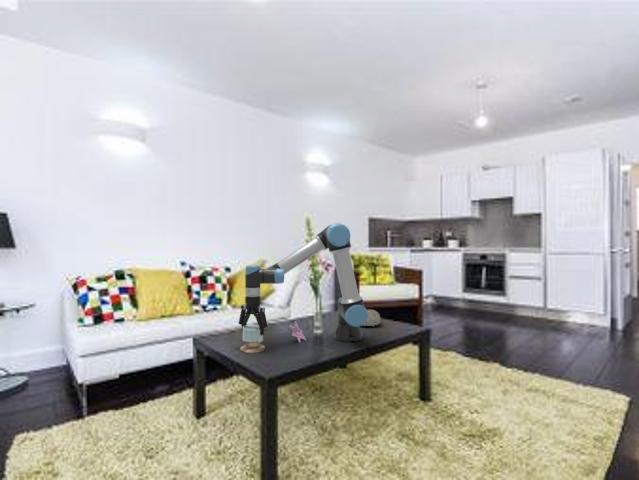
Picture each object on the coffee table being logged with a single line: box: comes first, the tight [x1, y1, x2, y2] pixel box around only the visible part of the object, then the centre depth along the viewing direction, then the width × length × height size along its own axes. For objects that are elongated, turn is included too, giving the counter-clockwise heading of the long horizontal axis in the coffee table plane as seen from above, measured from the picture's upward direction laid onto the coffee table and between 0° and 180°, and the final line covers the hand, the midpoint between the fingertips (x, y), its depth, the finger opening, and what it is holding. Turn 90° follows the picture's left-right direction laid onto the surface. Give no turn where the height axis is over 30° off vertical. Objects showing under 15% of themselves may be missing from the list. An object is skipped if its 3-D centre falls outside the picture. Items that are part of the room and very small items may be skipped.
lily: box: [289, 320, 307, 344], centre depth 202 cm, size 12×12×10 cm
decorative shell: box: [361, 308, 382, 327], centre depth 239 cm, size 18×18×10 cm
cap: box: [242, 324, 259, 342], centre depth 186 cm, size 9×9×6 cm
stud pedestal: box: [240, 341, 266, 354], centre depth 186 cm, size 12×12×9 cm
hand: (252, 340), depth 186 cm, fingers closed on cap, 9 cm apart
